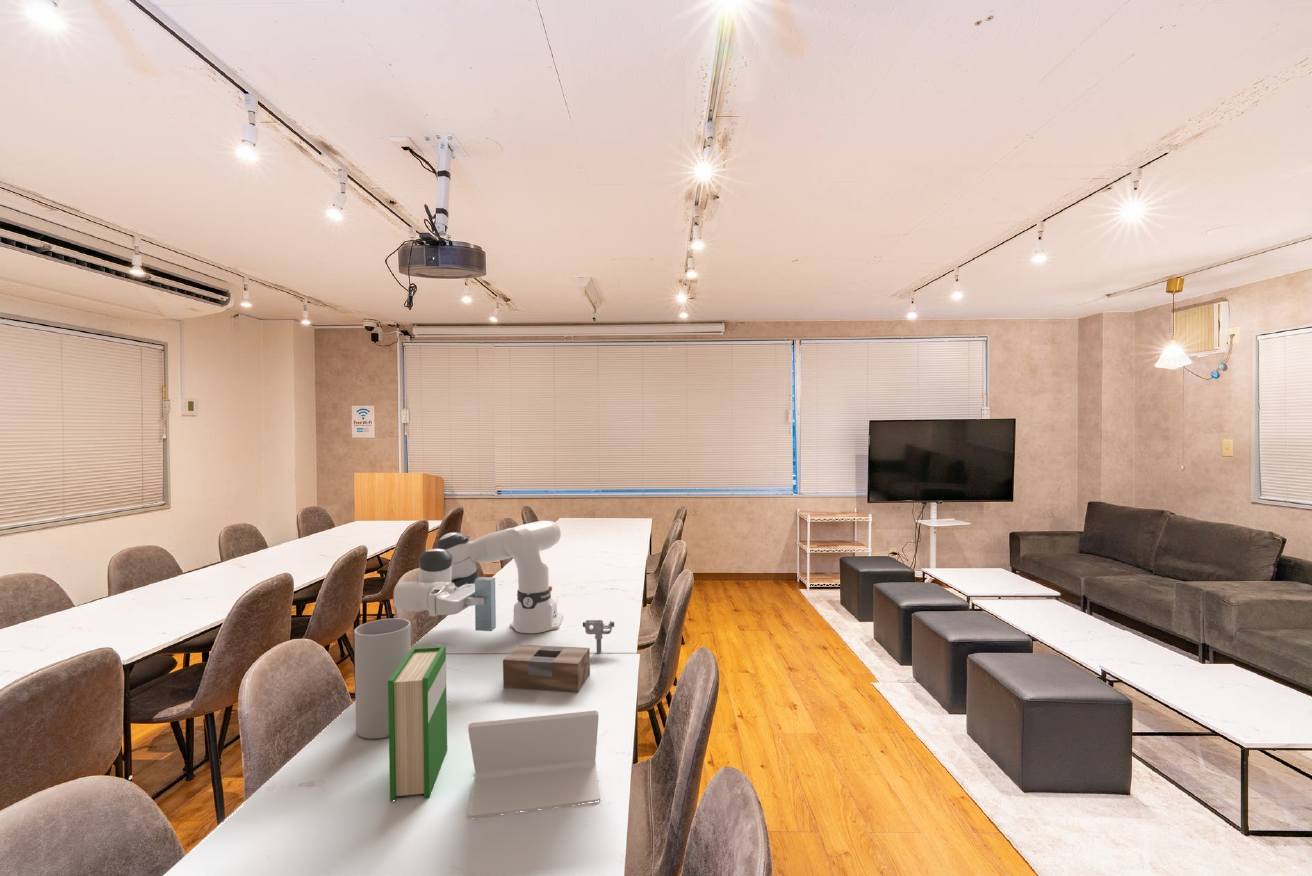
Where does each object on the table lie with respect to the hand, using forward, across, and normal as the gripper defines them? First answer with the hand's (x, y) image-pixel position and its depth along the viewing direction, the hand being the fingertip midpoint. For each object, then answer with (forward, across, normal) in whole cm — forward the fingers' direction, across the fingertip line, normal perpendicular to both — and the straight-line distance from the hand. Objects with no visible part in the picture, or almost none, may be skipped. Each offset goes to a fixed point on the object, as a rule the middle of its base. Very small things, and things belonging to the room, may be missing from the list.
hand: (488, 598), depth 172 cm
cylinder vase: (-13, +31, -24) cm, 41 cm away
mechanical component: (+27, -24, -24) cm, 43 cm away
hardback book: (+7, +48, -24) cm, 54 cm away
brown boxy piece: (+18, 0, -23) cm, 30 cm away
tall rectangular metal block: (-1, 0, -9) cm, 9 cm away
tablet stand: (+33, +48, -24) cm, 62 cm away
